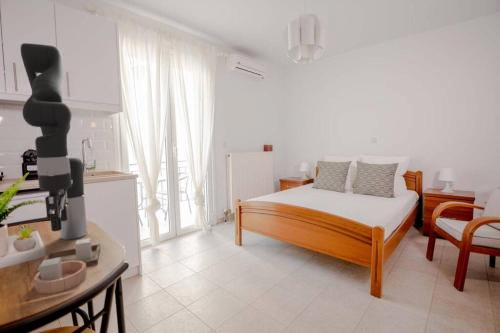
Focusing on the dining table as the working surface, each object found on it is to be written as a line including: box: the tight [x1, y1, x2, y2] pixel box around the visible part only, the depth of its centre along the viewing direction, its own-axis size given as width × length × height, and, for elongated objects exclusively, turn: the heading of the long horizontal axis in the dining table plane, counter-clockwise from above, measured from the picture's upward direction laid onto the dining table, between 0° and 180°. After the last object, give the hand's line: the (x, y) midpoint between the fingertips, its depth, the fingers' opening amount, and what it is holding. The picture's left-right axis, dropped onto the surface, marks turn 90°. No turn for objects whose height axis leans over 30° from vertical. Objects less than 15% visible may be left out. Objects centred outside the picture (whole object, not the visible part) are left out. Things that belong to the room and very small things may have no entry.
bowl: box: [33, 260, 88, 294], centre depth 71 cm, size 12×12×4 cm
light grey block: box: [39, 257, 63, 281], centre depth 70 cm, size 4×4×6 cm
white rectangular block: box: [74, 237, 92, 261], centre depth 85 cm, size 4×4×6 cm
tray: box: [35, 243, 101, 275], centre depth 83 cm, size 14×16×2 cm
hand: (60, 225), depth 74 cm, fingers open, 8 cm apart
